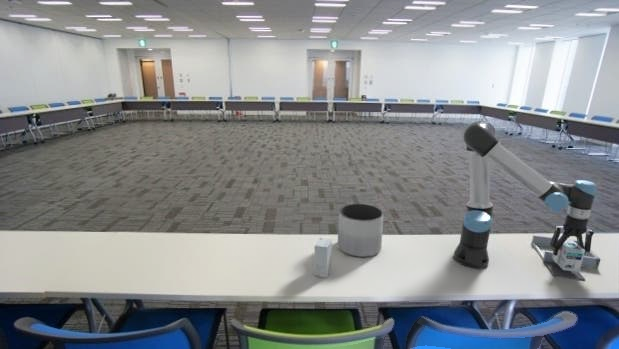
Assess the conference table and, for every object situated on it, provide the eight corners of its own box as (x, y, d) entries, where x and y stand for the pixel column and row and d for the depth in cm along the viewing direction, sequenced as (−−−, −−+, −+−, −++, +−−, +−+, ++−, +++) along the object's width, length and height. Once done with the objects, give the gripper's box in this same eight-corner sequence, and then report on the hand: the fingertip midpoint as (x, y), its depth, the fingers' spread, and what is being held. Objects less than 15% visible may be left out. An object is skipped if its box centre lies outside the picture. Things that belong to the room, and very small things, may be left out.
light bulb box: (580, 272, 143) (586, 250, 140) (562, 270, 144) (568, 248, 141) (567, 259, 153) (572, 238, 150) (550, 258, 154) (555, 237, 151)
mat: (552, 275, 145) (553, 274, 145) (543, 261, 156) (543, 260, 156) (585, 280, 142) (585, 279, 142) (572, 266, 153) (573, 265, 153)
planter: (373, 236, 180) (375, 202, 174) (387, 257, 159) (390, 219, 153) (333, 238, 177) (334, 204, 171) (343, 260, 156) (344, 222, 150)
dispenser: (543, 261, 157) (546, 251, 156) (531, 243, 174) (533, 234, 172) (597, 268, 151) (600, 259, 149) (579, 249, 168) (581, 240, 166)
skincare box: (326, 278, 142) (327, 247, 138) (313, 276, 144) (314, 245, 139) (331, 268, 150) (332, 239, 145) (318, 266, 151) (319, 236, 147)
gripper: (554, 216, 141) (543, 263, 147) (610, 222, 135) (596, 271, 142) (547, 210, 148) (537, 255, 154) (600, 215, 142) (587, 262, 149)
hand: (565, 262), depth 148 cm, fingers closed on light bulb box, 7 cm apart
